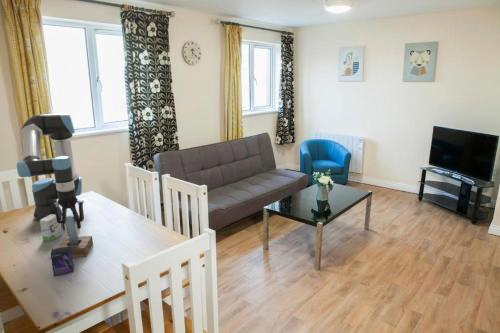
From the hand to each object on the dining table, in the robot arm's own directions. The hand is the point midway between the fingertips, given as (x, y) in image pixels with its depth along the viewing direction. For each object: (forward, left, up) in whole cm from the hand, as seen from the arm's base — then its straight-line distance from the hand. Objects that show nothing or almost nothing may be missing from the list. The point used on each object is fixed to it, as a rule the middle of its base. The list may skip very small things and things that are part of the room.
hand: (73, 235), depth 167 cm
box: (+17, 0, -9) cm, 20 cm away
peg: (0, 0, -5) cm, 5 cm away
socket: (0, 0, -9) cm, 9 cm away
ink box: (-19, -17, -9) cm, 27 cm away
